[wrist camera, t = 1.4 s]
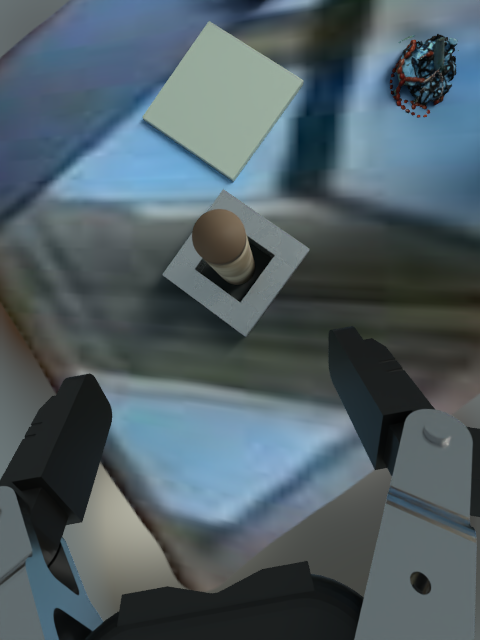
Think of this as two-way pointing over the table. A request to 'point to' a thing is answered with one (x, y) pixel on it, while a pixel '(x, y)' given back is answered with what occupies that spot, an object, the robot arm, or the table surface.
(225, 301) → the block
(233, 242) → the peg
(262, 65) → the tile
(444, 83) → the beaded bracelet pile
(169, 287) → the table surface
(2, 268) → the table surface
